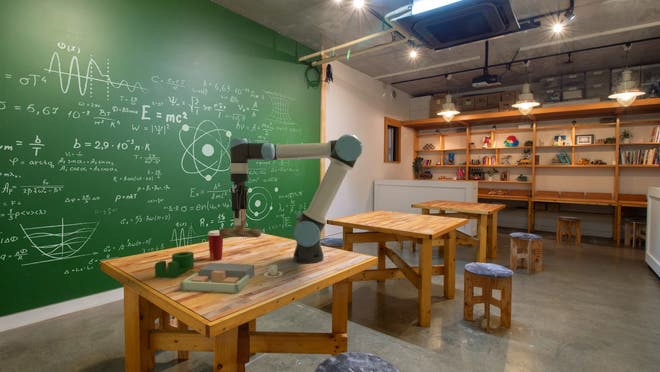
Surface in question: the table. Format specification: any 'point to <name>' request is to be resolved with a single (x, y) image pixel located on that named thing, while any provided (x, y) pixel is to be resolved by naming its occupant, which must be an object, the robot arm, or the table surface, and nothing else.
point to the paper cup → (215, 245)
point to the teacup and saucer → (272, 271)
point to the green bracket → (175, 265)
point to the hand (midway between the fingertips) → (239, 224)
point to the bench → (228, 270)
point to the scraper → (240, 229)
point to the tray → (213, 285)
